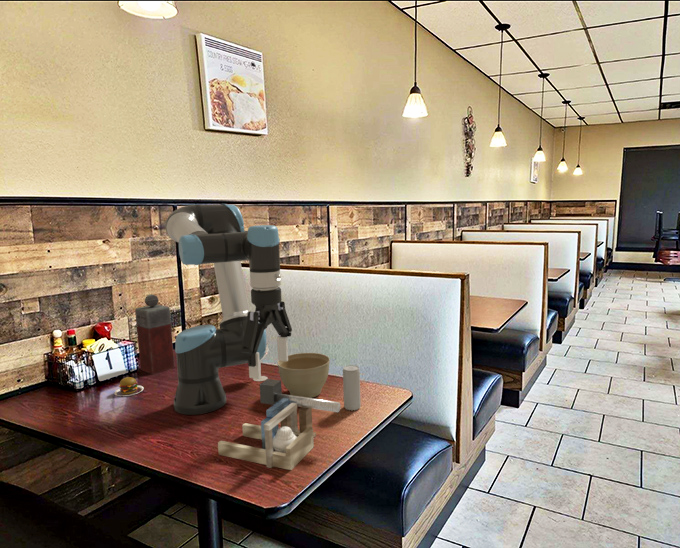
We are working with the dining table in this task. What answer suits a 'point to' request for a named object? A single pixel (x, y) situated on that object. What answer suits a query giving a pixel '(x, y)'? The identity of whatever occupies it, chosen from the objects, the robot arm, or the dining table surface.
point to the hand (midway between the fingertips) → (269, 368)
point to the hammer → (287, 403)
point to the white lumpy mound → (283, 439)
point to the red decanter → (154, 336)
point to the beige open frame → (268, 456)
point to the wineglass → (260, 366)
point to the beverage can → (351, 387)
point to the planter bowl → (304, 373)
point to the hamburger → (128, 386)
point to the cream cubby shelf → (300, 420)
